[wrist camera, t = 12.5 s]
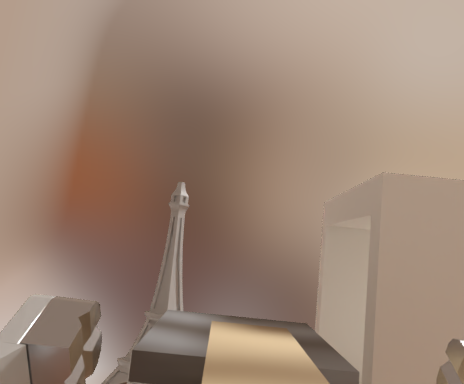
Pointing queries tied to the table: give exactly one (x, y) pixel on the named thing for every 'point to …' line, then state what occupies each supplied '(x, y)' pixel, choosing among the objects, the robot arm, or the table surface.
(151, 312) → the eiffel tower
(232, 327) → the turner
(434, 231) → the tall stand
